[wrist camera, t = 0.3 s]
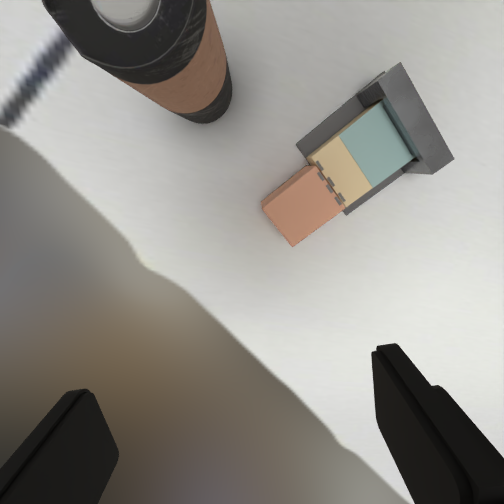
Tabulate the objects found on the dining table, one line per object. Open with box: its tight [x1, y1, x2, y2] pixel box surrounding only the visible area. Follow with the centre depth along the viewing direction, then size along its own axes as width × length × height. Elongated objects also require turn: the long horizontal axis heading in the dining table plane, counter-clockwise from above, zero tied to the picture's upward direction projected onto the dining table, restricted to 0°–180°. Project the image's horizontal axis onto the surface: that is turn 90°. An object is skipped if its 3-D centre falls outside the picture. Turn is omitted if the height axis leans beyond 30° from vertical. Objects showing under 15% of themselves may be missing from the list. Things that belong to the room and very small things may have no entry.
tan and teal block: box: [306, 98, 416, 207], centre depth 31 cm, size 11×7×4 cm, turn 129°
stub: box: [261, 166, 345, 247], centre depth 32 cm, size 7×6×6 cm
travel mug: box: [42, 0, 232, 123], centre depth 22 cm, size 8×8×20 cm
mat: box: [296, 71, 404, 215], centre depth 33 cm, size 12×11×1 cm
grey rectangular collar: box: [356, 62, 454, 175], centre depth 29 cm, size 2×11×6 cm, turn 39°
